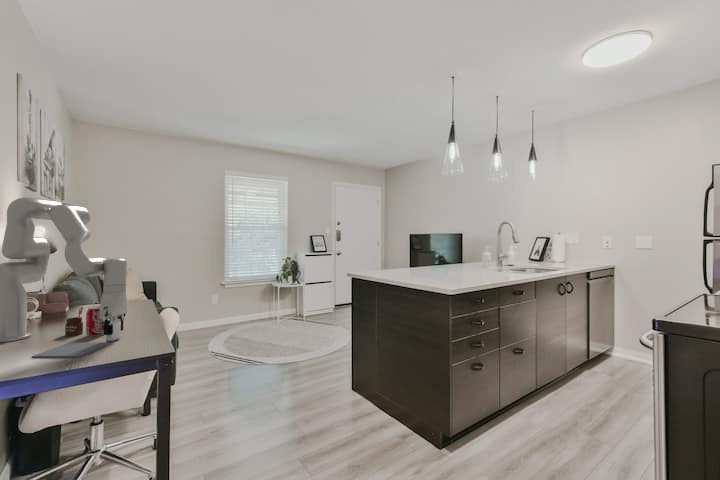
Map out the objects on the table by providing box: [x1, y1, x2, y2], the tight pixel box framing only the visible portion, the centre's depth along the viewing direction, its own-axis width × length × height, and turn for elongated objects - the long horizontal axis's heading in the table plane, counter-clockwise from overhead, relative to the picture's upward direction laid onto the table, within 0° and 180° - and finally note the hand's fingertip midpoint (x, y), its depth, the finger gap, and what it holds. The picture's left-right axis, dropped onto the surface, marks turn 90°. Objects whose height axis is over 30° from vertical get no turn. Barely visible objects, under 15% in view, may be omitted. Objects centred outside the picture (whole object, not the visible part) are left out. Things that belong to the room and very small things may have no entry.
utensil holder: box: [64, 306, 84, 337], centre depth 147 cm, size 6×6×12 cm
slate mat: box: [31, 341, 112, 359], centre depth 126 cm, size 16×16×1 cm
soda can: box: [85, 305, 104, 338], centre depth 146 cm, size 7×7×12 cm
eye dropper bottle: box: [105, 316, 122, 342], centre depth 139 cm, size 4×6×12 cm
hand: (113, 332), depth 139 cm, fingers closed on eye dropper bottle, 5 cm apart
